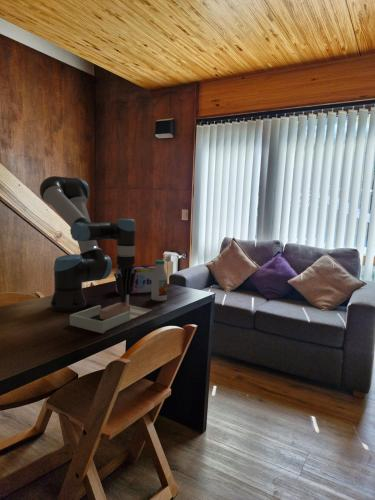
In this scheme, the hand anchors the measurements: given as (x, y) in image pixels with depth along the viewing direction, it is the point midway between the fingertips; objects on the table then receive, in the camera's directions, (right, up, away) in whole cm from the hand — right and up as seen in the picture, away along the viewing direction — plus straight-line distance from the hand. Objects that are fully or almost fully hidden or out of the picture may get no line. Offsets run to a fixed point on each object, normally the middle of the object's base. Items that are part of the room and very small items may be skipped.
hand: (125, 309), depth 150 cm
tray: (-7, -3, -13) cm, 15 cm away
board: (0, -2, +1) cm, 2 cm away
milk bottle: (+13, 0, +24) cm, 27 cm away
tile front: (-5, -2, -8) cm, 10 cm away
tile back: (-2, -2, -3) cm, 4 cm away
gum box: (-1, +3, +40) cm, 40 cm away
